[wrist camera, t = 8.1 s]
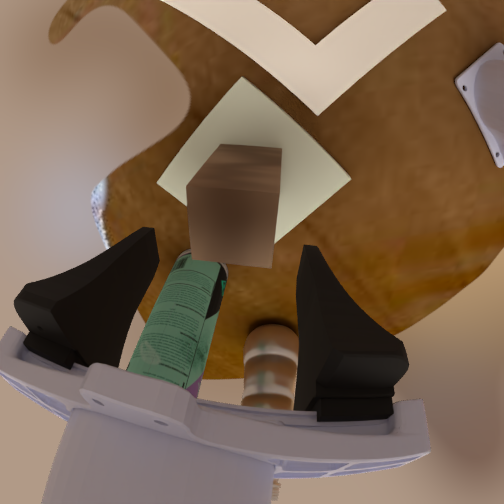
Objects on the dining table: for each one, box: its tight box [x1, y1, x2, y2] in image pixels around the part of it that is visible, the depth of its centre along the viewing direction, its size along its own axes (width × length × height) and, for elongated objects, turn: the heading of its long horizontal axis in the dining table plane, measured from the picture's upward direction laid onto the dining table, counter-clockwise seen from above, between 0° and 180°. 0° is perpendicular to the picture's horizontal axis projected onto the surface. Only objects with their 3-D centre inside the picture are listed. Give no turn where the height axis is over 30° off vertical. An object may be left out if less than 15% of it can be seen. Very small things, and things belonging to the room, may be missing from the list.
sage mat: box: [157, 77, 351, 244], centre depth 21 cm, size 11×11×1 cm
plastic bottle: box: [241, 324, 299, 500], centre depth 25 cm, size 6×7×20 cm
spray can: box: [126, 249, 228, 398], centre depth 20 cm, size 6×6×20 cm
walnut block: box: [186, 144, 282, 268], centre depth 17 cm, size 4×4×8 cm
